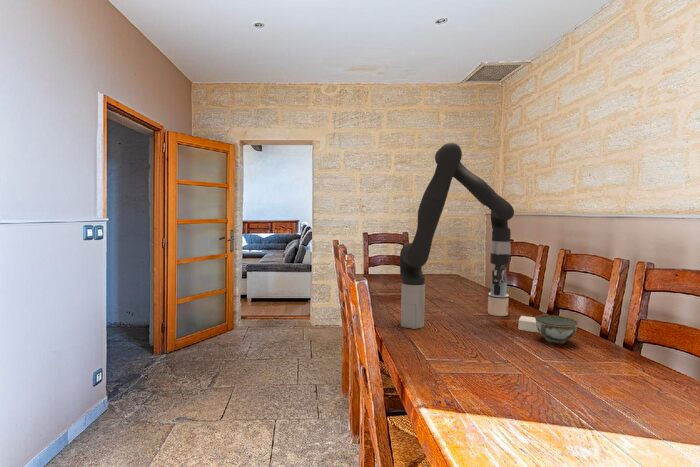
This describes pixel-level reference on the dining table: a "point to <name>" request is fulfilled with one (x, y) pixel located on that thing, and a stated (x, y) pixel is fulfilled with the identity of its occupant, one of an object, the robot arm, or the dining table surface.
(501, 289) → the cube
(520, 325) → the slab
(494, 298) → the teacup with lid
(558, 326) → the bowl
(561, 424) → the dining table surface
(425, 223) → the robot arm
